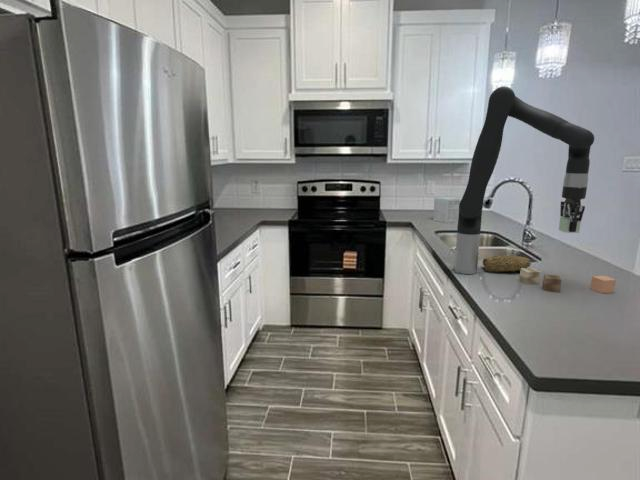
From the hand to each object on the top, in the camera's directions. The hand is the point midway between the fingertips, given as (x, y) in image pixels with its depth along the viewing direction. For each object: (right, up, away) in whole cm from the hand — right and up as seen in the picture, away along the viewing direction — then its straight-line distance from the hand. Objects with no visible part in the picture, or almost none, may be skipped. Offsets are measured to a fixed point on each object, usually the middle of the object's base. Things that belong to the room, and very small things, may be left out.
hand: (568, 230), depth 147 cm
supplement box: (-1, +10, +141) cm, 141 cm away
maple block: (-12, -21, +7) cm, 25 cm away
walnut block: (-8, -23, -2) cm, 24 cm away
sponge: (-13, -17, +22) cm, 31 cm away
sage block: (0, 0, 0) cm, 0 cm away
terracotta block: (+10, -23, -4) cm, 25 cm away
